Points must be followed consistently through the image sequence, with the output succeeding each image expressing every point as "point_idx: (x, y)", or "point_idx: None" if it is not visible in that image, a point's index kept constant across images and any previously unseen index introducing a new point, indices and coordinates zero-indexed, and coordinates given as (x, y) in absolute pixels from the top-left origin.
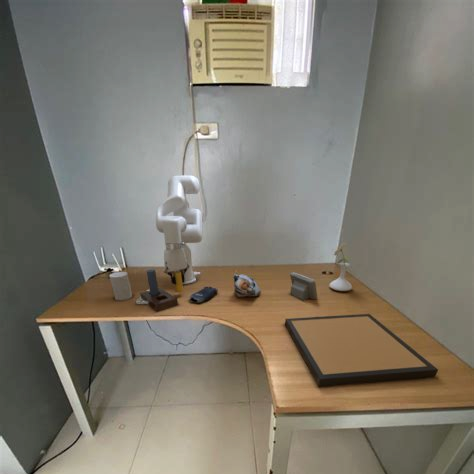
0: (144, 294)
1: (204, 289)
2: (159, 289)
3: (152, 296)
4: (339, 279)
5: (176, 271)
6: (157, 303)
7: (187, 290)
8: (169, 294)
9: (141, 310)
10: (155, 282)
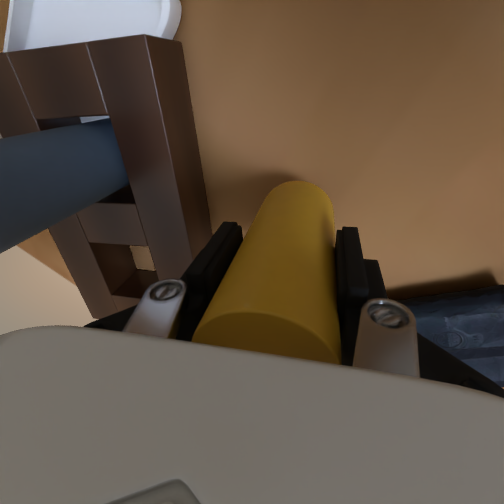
0: (11, 134)
1: (468, 339)
2: (131, 98)
3: (73, 215)
4: None
5: (271, 338)
6: (101, 314)
7: (430, 138)
8: (185, 264)
9: (51, 235)
10: (13, 245)
